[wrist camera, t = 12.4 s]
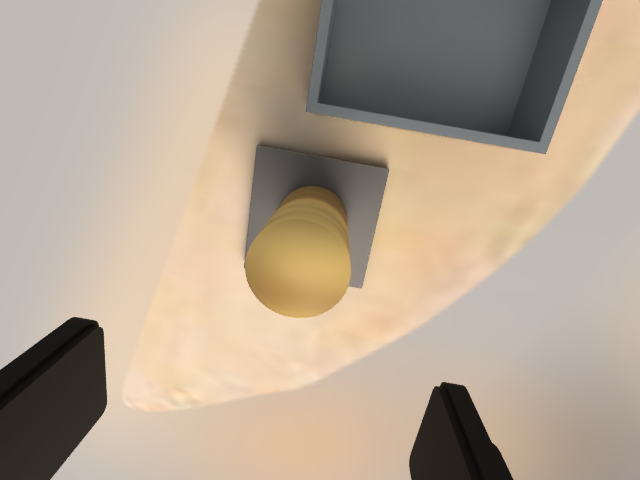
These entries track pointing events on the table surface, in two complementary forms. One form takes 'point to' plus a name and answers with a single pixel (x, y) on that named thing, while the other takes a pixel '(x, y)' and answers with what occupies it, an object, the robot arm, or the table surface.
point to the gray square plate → (333, 174)
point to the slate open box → (451, 66)
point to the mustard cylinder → (302, 255)
